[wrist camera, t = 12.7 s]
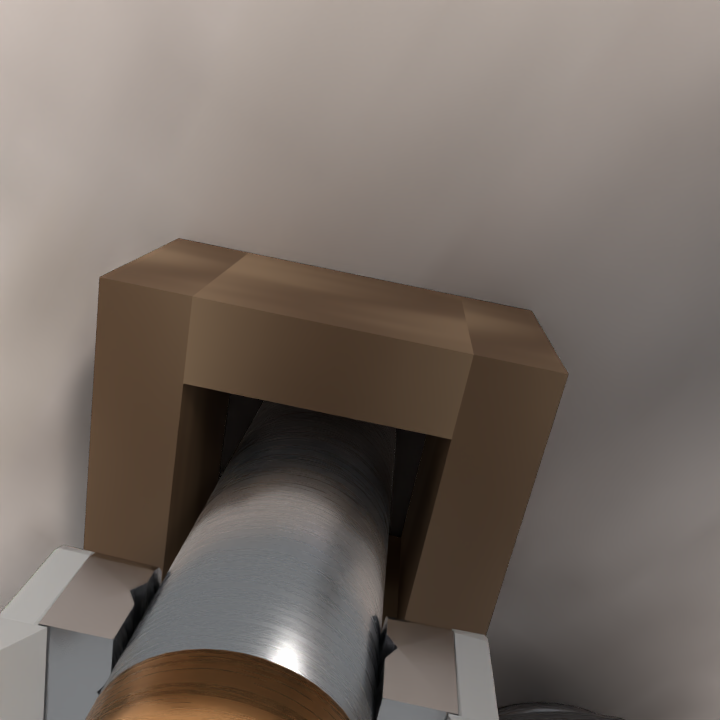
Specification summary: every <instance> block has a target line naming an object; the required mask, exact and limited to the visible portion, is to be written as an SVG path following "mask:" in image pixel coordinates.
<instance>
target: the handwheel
mask: <svg viewBox="0 0 720 720" xmlns="http://www.w3.org/2000/svg"><path fill="white" fill-rule="evenodd" d="M499 720H625V719H621V718H616V717H610V716H605V715H599V714H593V713H582V712H568V711H550V712H530V713H522V714H514V715H507V716H502V717H499Z"/></svg>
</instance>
